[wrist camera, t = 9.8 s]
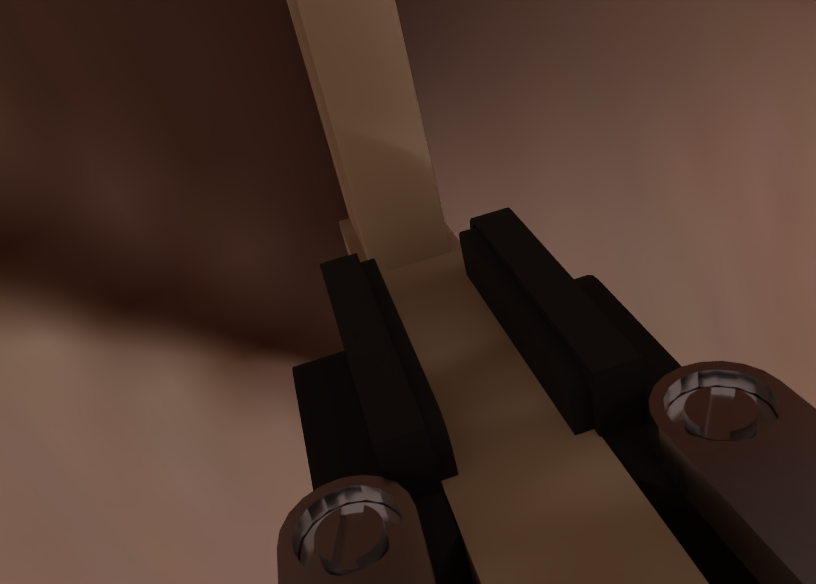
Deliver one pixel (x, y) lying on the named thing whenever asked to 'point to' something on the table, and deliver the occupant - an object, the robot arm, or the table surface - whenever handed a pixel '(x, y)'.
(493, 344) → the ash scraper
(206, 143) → the table surface
